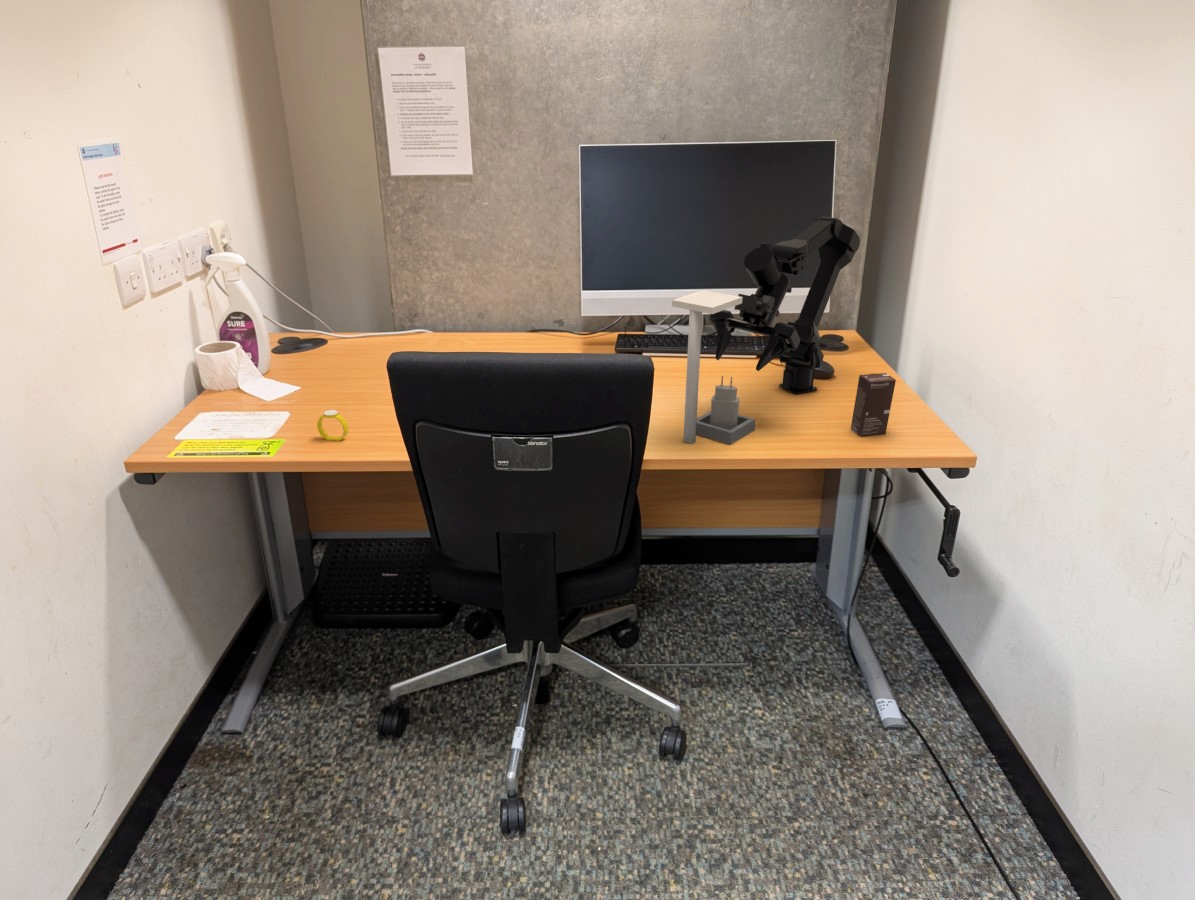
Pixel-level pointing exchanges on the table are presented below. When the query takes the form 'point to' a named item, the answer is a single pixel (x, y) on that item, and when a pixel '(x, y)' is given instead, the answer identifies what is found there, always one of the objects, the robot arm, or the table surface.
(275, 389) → the table surface
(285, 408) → the table surface
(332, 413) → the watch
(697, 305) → the tall pedestal stand
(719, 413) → the power adapter
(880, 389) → the box
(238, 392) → the table surface
